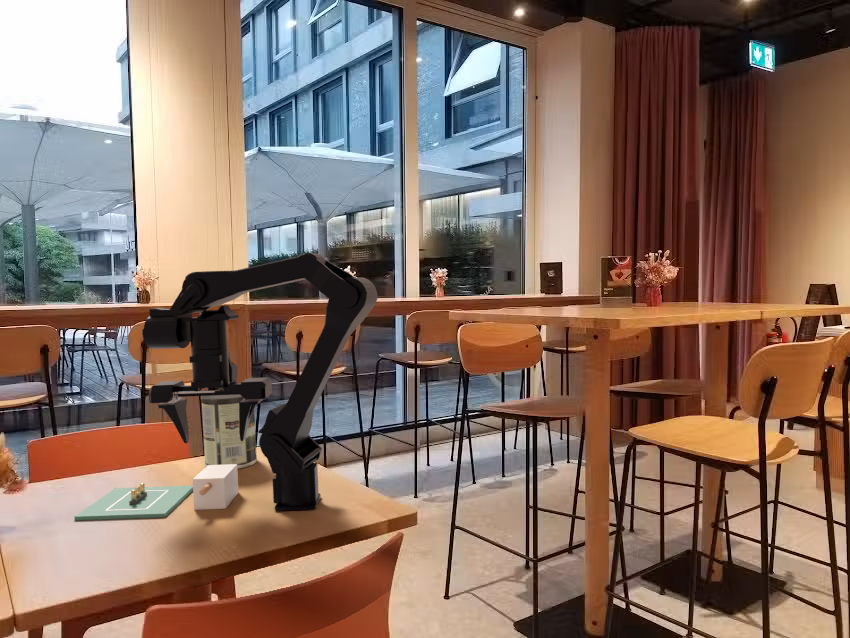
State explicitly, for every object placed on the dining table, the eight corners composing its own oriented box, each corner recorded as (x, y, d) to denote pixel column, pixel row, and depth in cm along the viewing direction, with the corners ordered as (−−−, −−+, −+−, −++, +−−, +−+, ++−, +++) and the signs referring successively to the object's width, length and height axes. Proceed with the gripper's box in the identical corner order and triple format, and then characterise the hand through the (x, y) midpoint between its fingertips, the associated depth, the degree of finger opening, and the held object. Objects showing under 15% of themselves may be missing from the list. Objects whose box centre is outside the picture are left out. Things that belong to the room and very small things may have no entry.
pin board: (194, 488, 116) (194, 473, 116) (165, 517, 102) (164, 499, 102) (115, 491, 116) (114, 475, 116) (74, 520, 102) (73, 502, 102)
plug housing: (238, 492, 113) (237, 464, 113) (219, 516, 102) (217, 484, 101) (209, 493, 113) (208, 465, 113) (186, 517, 102) (185, 486, 101)
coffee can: (238, 453, 139) (235, 388, 139) (267, 461, 133) (264, 392, 132) (193, 465, 132) (190, 395, 131) (222, 474, 125) (219, 400, 124)
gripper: (276, 341, 116) (280, 428, 117) (170, 345, 116) (175, 432, 116) (262, 347, 105) (267, 444, 106) (144, 352, 104) (150, 448, 105)
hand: (214, 441), depth 109 cm, fingers open, 9 cm apart
